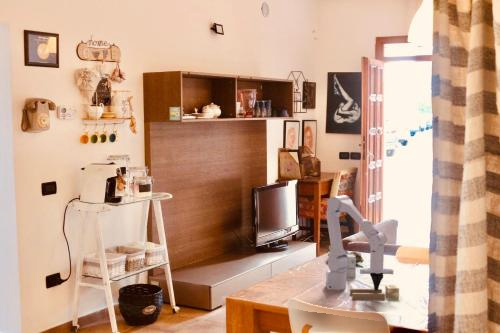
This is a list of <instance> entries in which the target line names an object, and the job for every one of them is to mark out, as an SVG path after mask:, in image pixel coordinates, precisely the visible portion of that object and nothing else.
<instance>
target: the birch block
mask: <svg viewBox="0 0 500 333" xmlns="http://www.w3.org/2000/svg"><path fill="white" fill-rule="evenodd" d="M384 288H385V289H384V291H385V295H386V297H387V298H399V295H400V288H399V286H398V285H396V284H392V285H391V284H389V285H388V284H386V285H385V287H384Z"/></svg>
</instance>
